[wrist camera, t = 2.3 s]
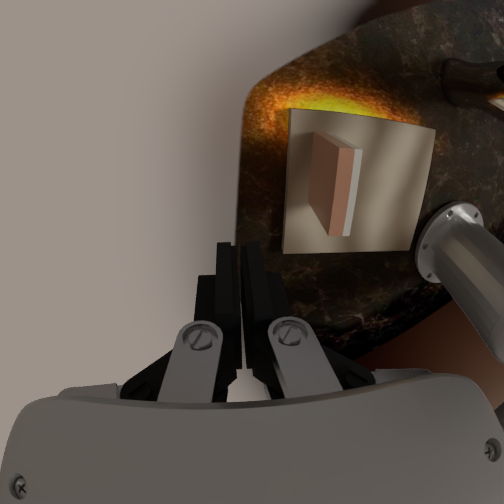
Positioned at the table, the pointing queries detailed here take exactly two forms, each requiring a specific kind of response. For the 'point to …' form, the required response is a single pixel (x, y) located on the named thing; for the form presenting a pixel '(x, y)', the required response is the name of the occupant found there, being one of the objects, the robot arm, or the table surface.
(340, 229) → the tile
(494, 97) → the beer glass
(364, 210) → the board
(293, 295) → the table surface
